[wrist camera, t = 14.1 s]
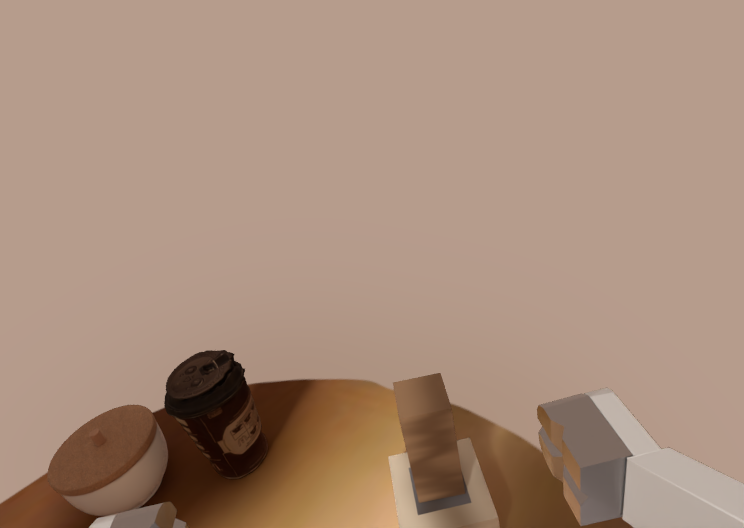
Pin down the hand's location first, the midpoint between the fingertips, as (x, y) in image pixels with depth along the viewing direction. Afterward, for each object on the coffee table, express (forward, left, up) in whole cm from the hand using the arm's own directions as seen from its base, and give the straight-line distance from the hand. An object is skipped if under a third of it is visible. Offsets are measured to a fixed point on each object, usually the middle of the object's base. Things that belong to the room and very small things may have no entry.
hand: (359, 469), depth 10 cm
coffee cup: (-26, +25, -32) cm, 48 cm away
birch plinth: (-3, +19, -32) cm, 37 cm away
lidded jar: (-38, +21, -32) cm, 54 cm away
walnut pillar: (-3, +19, -28) cm, 34 cm away
